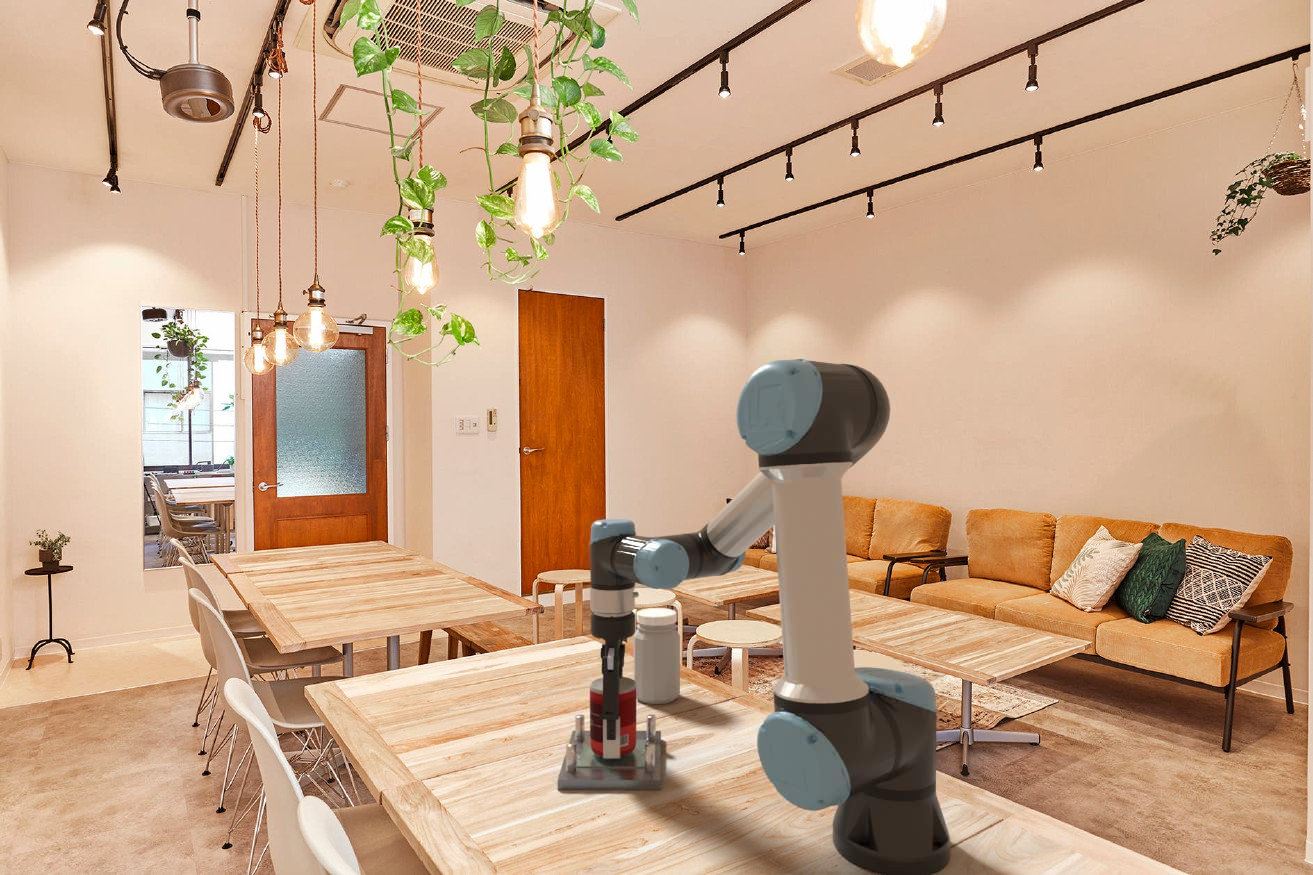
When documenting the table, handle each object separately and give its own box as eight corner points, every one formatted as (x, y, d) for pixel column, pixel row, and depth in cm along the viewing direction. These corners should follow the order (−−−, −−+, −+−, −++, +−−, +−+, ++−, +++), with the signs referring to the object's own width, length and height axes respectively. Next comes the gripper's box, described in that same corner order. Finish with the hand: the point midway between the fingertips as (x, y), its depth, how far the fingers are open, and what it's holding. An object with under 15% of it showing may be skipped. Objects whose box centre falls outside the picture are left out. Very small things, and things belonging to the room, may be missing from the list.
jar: (626, 693, 165) (626, 609, 165) (668, 687, 169) (668, 605, 168) (644, 708, 156) (643, 619, 156) (687, 701, 160) (687, 614, 160)
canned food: (644, 743, 132) (643, 679, 132) (622, 761, 125) (622, 693, 125) (604, 736, 135) (604, 673, 135) (581, 753, 128) (581, 687, 128)
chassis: (660, 789, 120) (660, 754, 120) (557, 789, 120) (557, 754, 120) (660, 738, 140) (660, 708, 140) (572, 738, 140) (572, 708, 140)
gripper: (632, 626, 120) (633, 773, 120) (637, 598, 140) (637, 723, 140) (584, 626, 120) (584, 773, 120) (596, 598, 140) (596, 723, 141)
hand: (613, 746), depth 130 cm, fingers closed on canned food, 8 cm apart
